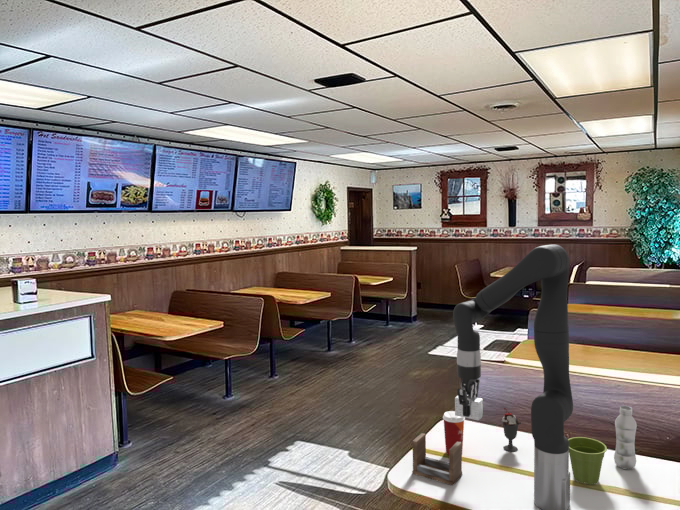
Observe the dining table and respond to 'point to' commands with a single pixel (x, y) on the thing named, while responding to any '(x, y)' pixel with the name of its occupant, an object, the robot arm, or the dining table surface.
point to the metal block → (475, 408)
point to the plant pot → (586, 459)
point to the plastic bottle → (625, 439)
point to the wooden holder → (437, 462)
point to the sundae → (510, 430)
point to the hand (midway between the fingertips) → (468, 413)
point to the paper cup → (453, 429)
